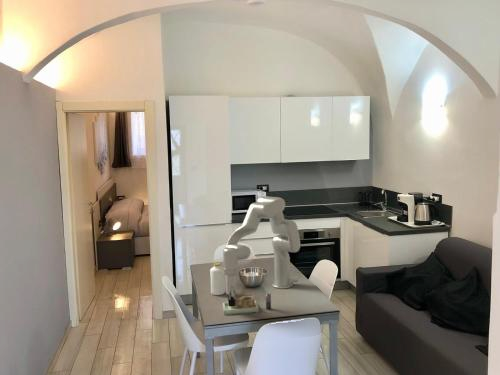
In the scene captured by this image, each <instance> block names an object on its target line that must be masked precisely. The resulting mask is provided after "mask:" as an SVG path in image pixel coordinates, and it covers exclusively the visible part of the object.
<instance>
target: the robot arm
mask: <svg viewBox="0 0 500 375" xmlns="http://www.w3.org/2000/svg"><path fill="white" fill-rule="evenodd" d="M285 208H286V202H285V199H283V198H282V197H278V196H267V195H264V196H262V195H261V196H260V197H258V198H257V200H256V202H252V203H250V205H249V207H248V210H247V212H246V214H245V216H244V219H243V221H242V224H241V226H239V227H238V228H237V229H236V230H234V231H233V233H232V234H230V236H229V238H228V240H227V243H226V245H225V248H224V249H223V253H222V254H223V257H222V258H223V268H224V275H225V293H226V295H228V298H227V300H228V301H227V302H228V303H229V306H235V298H236V297H235V296H236V295H235V294H236V292H237V275H238V274H239V261H244V260H245V261H246V259H248V258H250V256H251V253H252V252H251V249H250V247H249V246H246V245H242V244H239V242H240V241H241V239H243V238H245V237H247V236H249V235H252V234H254V233H257V230H258V227H259V225H260V222H261V220H262V219H265V220H266V219H269V224H270V227H271V231H272V233H273V235H274V237H273V238H272V240H271V244H272V245H271V246H272V250H273V258H274V259H273V265H274V268H273V269H274V271H273V272H274V281H273V282H272V284H271V286H272V287H273V288H275V289H289V288H292V287H293V285H294V284H293V283H299V280H298V278H295V277H293V278H291V262H290V261H291V257H290V254H289V253H297V252H299V251H300V248H301V240H300V232H299V229H298V226H297V223H296V222H295V221H294V220H292V219H286V218H285V217H284V213H283V211H284V210H285Z"/></svg>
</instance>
